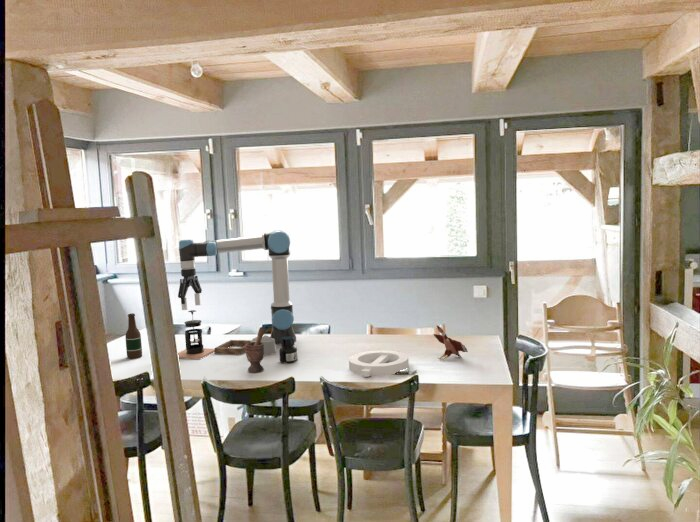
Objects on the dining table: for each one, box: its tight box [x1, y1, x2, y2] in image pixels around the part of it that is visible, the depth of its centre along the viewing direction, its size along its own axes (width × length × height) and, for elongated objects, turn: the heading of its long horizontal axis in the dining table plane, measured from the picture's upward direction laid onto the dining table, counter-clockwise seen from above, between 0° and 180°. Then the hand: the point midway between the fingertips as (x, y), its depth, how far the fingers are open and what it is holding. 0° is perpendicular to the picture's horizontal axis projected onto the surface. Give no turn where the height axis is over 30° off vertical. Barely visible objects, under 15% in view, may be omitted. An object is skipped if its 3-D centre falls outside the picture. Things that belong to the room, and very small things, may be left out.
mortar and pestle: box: [245, 326, 266, 374], centre depth 271 cm, size 12×9×20 cm
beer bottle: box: [125, 313, 143, 360], centre depth 306 cm, size 8×8×24 cm
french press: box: [184, 309, 204, 354], centre depth 307 cm, size 12×9×23 cm
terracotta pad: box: [177, 347, 215, 360], centre depth 308 cm, size 18×18×1 cm
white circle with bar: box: [348, 349, 409, 378], centre depth 267 cm, size 28×28×5 cm
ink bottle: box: [278, 336, 298, 364], centre depth 284 cm, size 10×9×12 cm
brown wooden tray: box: [214, 339, 252, 355], centre depth 314 cm, size 16×19×3 cm
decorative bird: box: [433, 325, 468, 361], centre depth 275 cm, size 28×18×15 cm, turn 22°
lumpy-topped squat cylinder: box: [250, 334, 277, 356], centre depth 304 cm, size 10×13×9 cm
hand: (191, 307), depth 305 cm, fingers open, 13 cm apart
